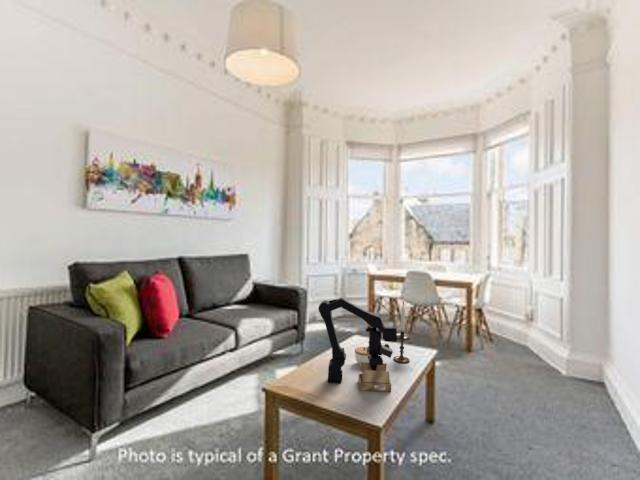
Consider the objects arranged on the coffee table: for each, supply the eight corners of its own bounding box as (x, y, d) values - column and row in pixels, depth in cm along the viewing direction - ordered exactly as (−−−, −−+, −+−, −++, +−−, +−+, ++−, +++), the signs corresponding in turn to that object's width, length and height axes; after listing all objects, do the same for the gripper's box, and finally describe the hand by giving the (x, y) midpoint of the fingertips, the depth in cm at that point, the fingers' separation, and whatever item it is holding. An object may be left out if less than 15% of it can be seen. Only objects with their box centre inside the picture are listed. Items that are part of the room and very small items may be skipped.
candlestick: (413, 364, 196) (415, 302, 195) (393, 363, 196) (395, 301, 195) (408, 357, 207) (410, 298, 206) (390, 356, 207) (392, 297, 206)
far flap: (361, 362, 172) (361, 362, 172) (360, 372, 172) (360, 371, 173) (386, 363, 171) (386, 363, 171) (386, 373, 172) (386, 373, 172)
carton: (359, 390, 161) (359, 383, 161) (358, 380, 173) (358, 373, 172) (391, 392, 161) (391, 384, 161) (388, 381, 172) (388, 374, 172)
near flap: (362, 381, 161) (362, 381, 161) (362, 370, 163) (362, 370, 163) (389, 382, 161) (389, 383, 160) (389, 371, 162) (389, 371, 162)
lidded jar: (351, 365, 192) (351, 348, 192) (358, 359, 202) (359, 342, 202) (369, 369, 188) (370, 351, 187) (376, 362, 197) (376, 346, 197)
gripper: (394, 347, 159) (393, 381, 159) (389, 335, 178) (388, 366, 178) (369, 346, 160) (369, 380, 160) (367, 334, 179) (366, 365, 179)
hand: (374, 372), depth 169 cm, fingers closed
